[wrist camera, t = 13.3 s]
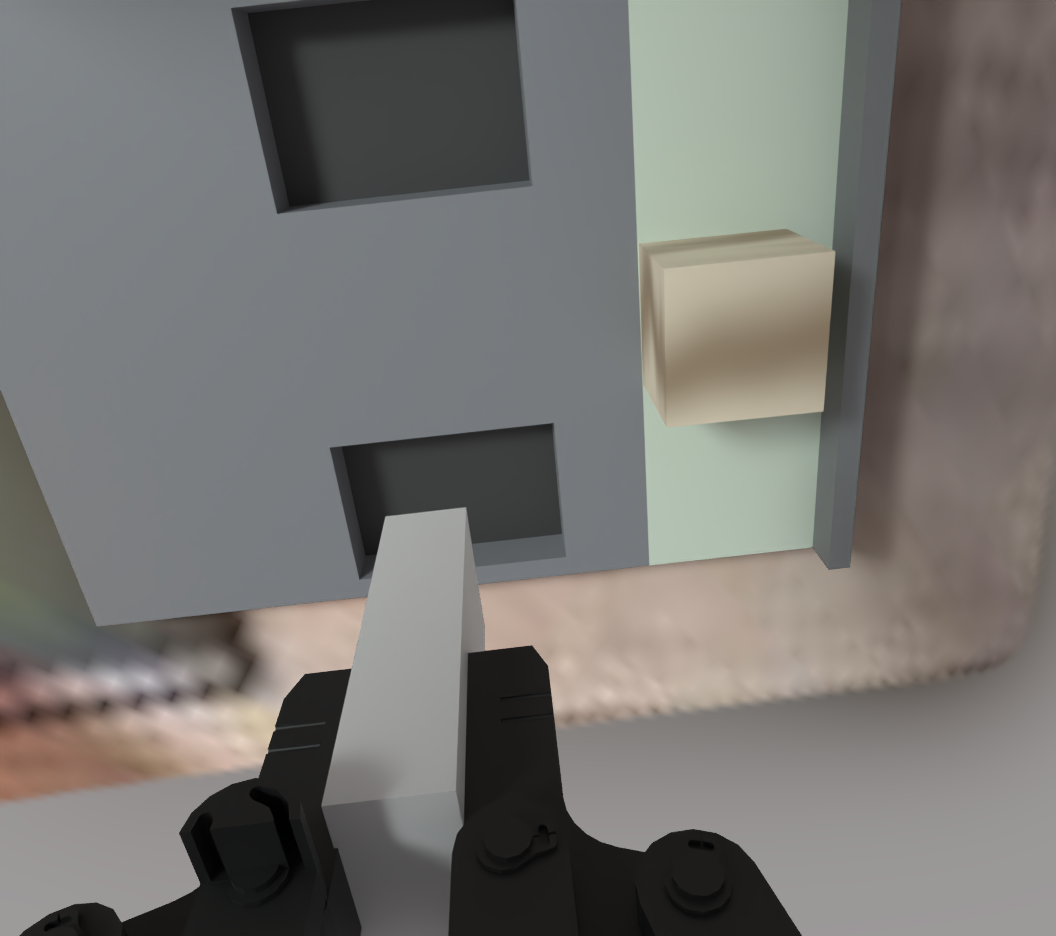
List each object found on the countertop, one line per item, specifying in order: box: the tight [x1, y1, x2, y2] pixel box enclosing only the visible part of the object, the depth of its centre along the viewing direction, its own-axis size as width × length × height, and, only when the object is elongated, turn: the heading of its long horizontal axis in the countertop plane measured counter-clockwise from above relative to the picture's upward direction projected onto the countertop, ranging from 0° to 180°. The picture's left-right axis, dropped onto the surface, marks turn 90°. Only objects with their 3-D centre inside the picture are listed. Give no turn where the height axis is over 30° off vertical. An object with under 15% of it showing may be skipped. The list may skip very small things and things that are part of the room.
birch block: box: [639, 229, 835, 428], centre depth 31 cm, size 6×6×5 cm
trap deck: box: [0, 0, 901, 626], centre depth 33 cm, size 26×36×4 cm
